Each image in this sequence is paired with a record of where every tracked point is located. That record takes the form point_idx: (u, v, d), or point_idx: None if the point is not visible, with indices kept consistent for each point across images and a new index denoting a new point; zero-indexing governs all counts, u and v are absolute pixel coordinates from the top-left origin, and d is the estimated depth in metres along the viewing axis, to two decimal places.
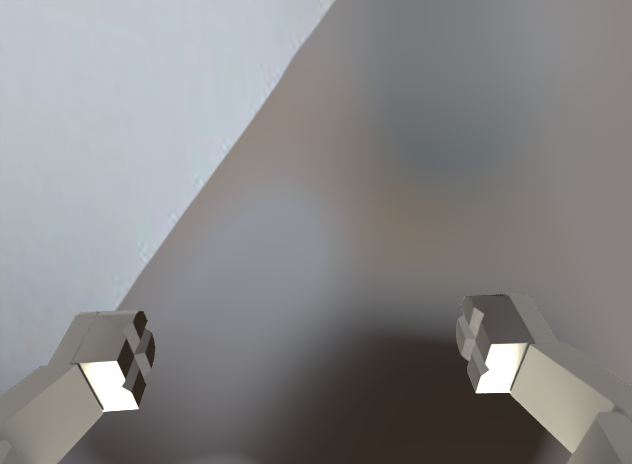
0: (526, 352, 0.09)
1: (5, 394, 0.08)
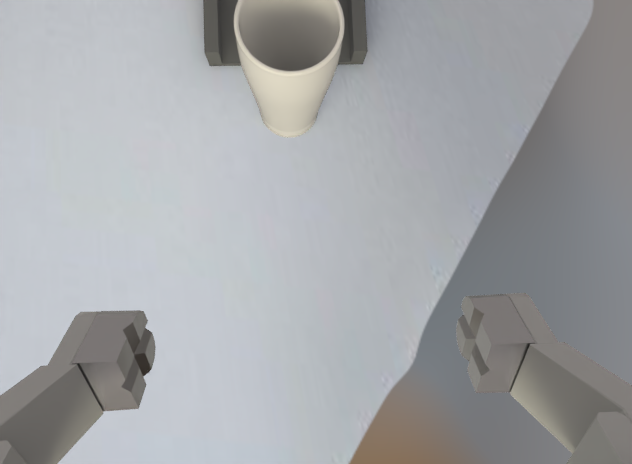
0: (526, 352, 0.09)
1: (5, 394, 0.08)
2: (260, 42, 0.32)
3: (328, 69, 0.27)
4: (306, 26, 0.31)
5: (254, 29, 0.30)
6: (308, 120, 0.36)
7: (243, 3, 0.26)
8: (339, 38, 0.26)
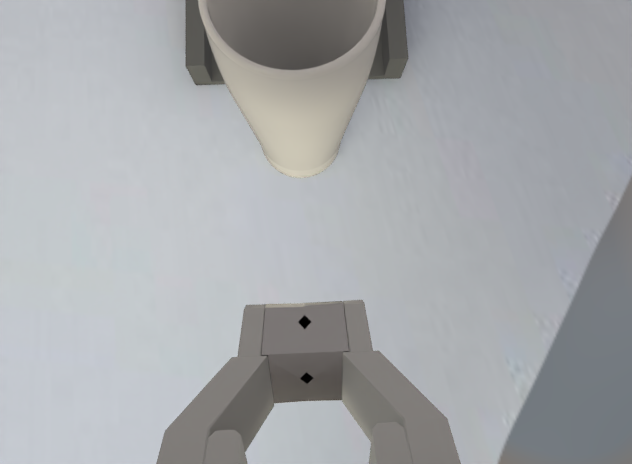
0: (343, 360, 0.09)
1: (210, 385, 0.09)
2: (254, 40, 0.21)
3: (359, 69, 0.16)
4: (322, 14, 0.21)
5: (242, 18, 0.19)
6: (327, 154, 0.25)
7: None
8: (378, 13, 0.15)
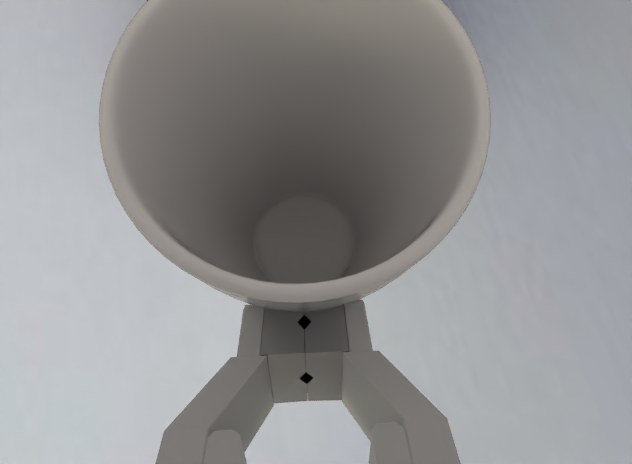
0: (343, 360, 0.09)
1: (209, 385, 0.09)
2: (234, 141, 0.14)
3: None
4: (342, 103, 0.13)
5: (211, 117, 0.12)
6: None
7: (141, 49, 0.08)
8: (478, 154, 0.07)
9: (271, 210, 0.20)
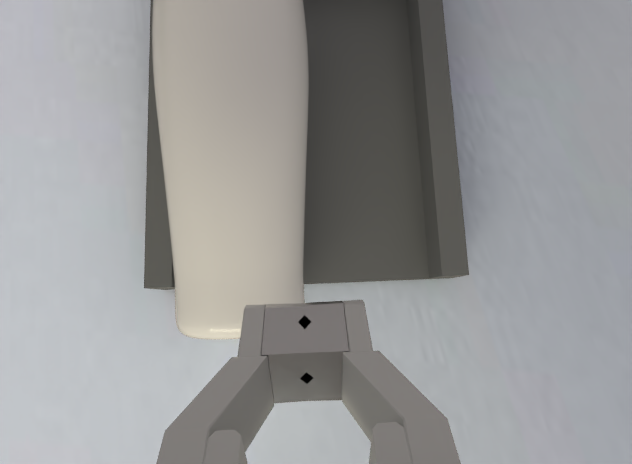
0: (343, 360, 0.09)
1: (210, 385, 0.09)
2: None
3: None
4: None
5: None
6: (200, 224, 0.16)
7: None
8: None
9: None
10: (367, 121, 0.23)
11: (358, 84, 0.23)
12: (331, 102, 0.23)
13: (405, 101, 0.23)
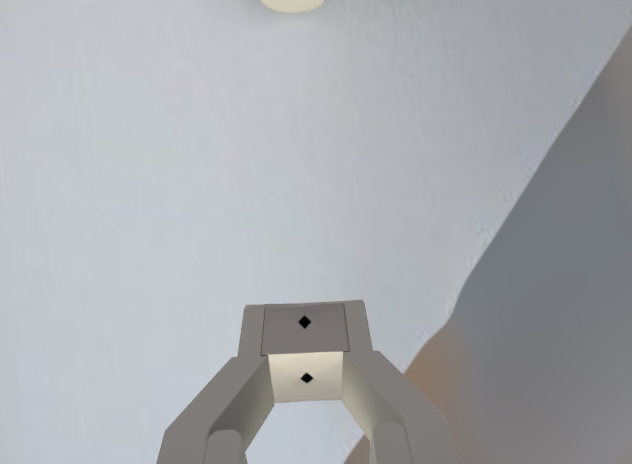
0: (343, 360, 0.09)
1: (210, 385, 0.09)
2: None
3: None
4: None
5: None
6: None
7: None
8: None
9: None
10: None
11: None
12: None
13: None
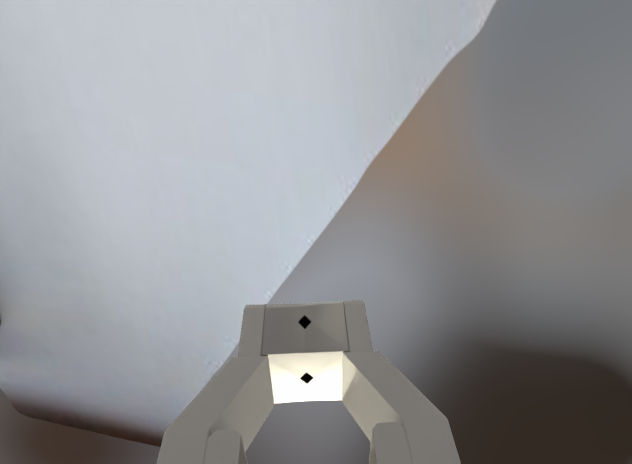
0: (343, 360, 0.09)
1: (210, 385, 0.09)
2: None
3: None
4: None
5: None
6: None
7: None
8: None
9: None
10: None
11: None
12: None
13: None
